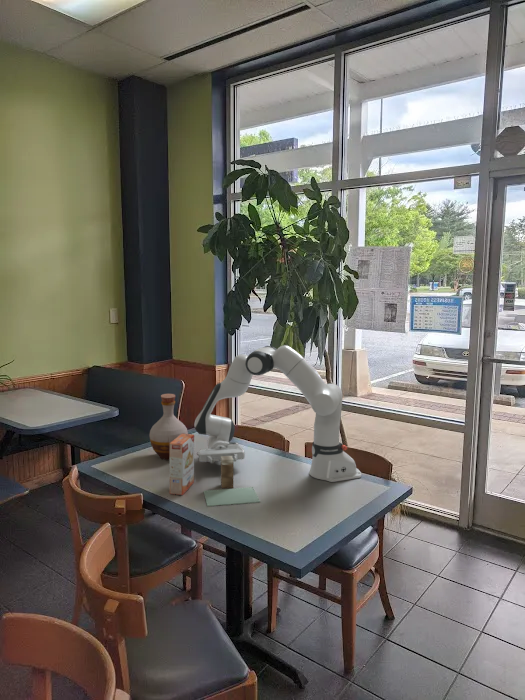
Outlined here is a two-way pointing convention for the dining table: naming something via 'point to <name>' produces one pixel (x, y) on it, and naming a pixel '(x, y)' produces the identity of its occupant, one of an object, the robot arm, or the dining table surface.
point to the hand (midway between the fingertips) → (223, 460)
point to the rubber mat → (231, 496)
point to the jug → (166, 428)
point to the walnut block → (227, 471)
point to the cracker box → (181, 464)
